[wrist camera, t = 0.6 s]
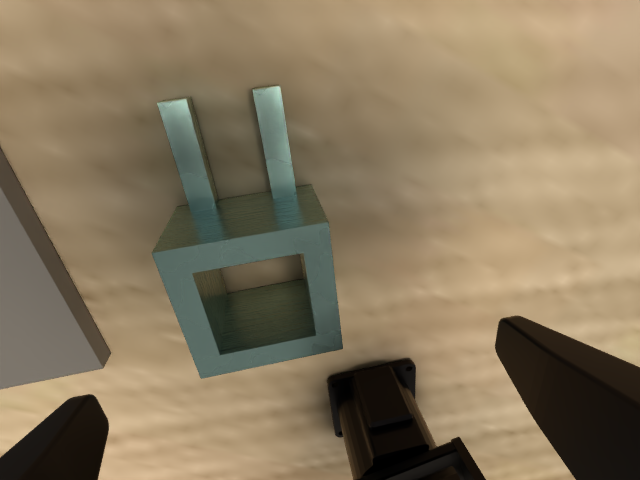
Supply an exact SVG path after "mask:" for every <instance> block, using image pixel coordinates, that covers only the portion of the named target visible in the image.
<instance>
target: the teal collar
mask: <svg viewBox="0 0 640 480" xmlns="http://www.w3.org/2000/svg"><path fill="white" fill-rule="evenodd" d="M252 91H253V96H254V101H255V106H256V112H257V117H258V122H259V128H260V133H261V138H262V143H263V149H264V154H265V159H266V164H267V170H268V175H269V180H270V186H271V191H269V192H262V193H256V194H250V195H244V196H238V197H232V198H226V199H220V200H218V197H217V193H216V189H215V185H214V182H213V178H212V174H211V170H210V167H209V163H208V159H207V155H206V152H205V148H204V144H203V141H202V137H201V133H200V129H199V126H198V122H197V118H196V114H195V111H194V107H193V103H192V99H191V97H185V98H178V99H170V100H163V101H161V102H158V103H157V105H158V108H159V111H160V114H161V117H162V121H163V124H164V127H165V130H166V133H167V137H168V140H169V143H170V146H171V149H172V153H173V156H174V159H175V162H176V165H177V169H178V172H179V175H180V178H181V181H182V185H183V188H184V191H185V194H186V198H187V201H188V204H189V205H183V206H177V208H176V209H175V211H174V213H173V215H172V217H171V219H170V220H169V222H168V224H167V226H166V228H165V230H164V231H163V233H162V235H161V237H160V239H159V241H158V242H157V244H156V246H155V248H154V250H153V252H152V255H153V258H154V260H155V263H156V265H157V268H158V271H159V273H160V276H161V278H162V281H163V283H164V286H165V288H166V291H167V293H168V296H169V299H170V301H171V304H172V306H173V309H174V311H175V314H176V316H177V319H178V322H179V324H180V327H181V329H182V332H183V334H184V337H185V339H186V342H187V344H188V347H189V350H190V352H191V355H192V357H193V360H194V362H195V365H196V367H197V370H198V372H199V375H200V378H201V379H202V378H206V377H211V376H216V375H221V374H225V373H230V372H235V371H240V370H245V369H249V368H254V367H259V366H264V365H268V364H273V363H278V362H283V361H287V360H292V359H297V358H302V357H306V356H311V355H316V354H321V353H325V352H330V351H335V350H340V349H343V344H342V336H341V327H340V318H339V309H338V301H337V292H336V283H335V274H334V266H333V257H332V248H331V239H330V231H329V222H328V220H327V218H326V216H325V213H324V211H323V209H322V207H321V205H320V202H319V200H318V198H317V196H316V194H315V192H314V189H313V187H312V185H305V186H299V187H296V186H295V179H294V173H293V167H292V160H291V154H290V147H289V141H288V134H287V128H286V121H285V115H284V108H283V102H282V95H281V89H280V86H279V85H273V86H265V87H258V88H253V89H252ZM295 254H300V259H301V265H302V271H303V277H304V279H301V280H295V281H290V282H285V283H280V284H274V285H269V286H264V287H259V288H253V289H248V290H243V291H237V292H232V293H227V290H226V287H225V283H224V280H223V277H222V273H221V270H220V268H223V267H229V266H234V265H240V264H245V263H251V262H256V261H262V260H267V259H273V258H278V257H284V256H289V255H295Z"/></svg>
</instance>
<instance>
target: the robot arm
mask: <svg viewBox="0 0 640 480" xmlns="http://www.w3.org/2000/svg"><path fill="white" fill-rule="evenodd" d="M495 349H496V353H497V355H498V357H499V359H500V361H501V363H502V364H503V366H504V368H505V370H506V371H507V373H508V375H509V377H510V378H511V380H512V382H513V384H514V386H515V387H516V389H517V391H518V393H519V394H520V396H521V398H522V400H523V401H524V403H525V405H526V407H527V408H528V410H529V412H530V413H531V415H532V417H533V418H534V420H535V421H536V423H537V424H538V426H539V427H540V429H541V430H542V432H543V433H544V434H545V436H546V437H547V439H548V440H549V442H550V443H551V445H552V446H553V447H554V449H555V450H556V452H557V453H558V455H559V456H560V457H561V459H562V460H563V462H564V463H565V465H566V466H567V467H568V469H569V470H570V472H571V473H572V475H573V476H574V478H575V479H576V480H640V367H638V366H635V365H633V364H631V363H628V362H626V361H624V360H622V359H619V358H617V357H615V356H612V355H610V354H608V353H605V352H603V351H601V350H598V349H596V348H594V347H591V346H589V345H587V344H584V343H582V342H580V341H577V340H575V339H573V338H570V337H568V336H566V335H563V334H561V333H559V332H556V331H554V330H552V329H549V328H547V327H545V326H542V325H540V324H538V323H535V322H533V321H531V320H528V319H526V318H524V317H521V316H511V317H506V318H502V319H501V320H500V321H499V324H498V330H497V336H496V343H495ZM415 373H416V367H415V364H414V362H413V361H412V360H403V361H399V362H394V363H390V364H385V365H380V366H376V367H371V368H366V369H362V370H357V371H353V372H348V373H343V374H339V375H334V376H331V377H330V378H328V380H327V384H328V391H329V397H330V404H331V411H332V417H333V424H334V430H335V435H336V436H337V437H344V441H345V446H346V450H347V454H348V458H349V463H350V467H351V471H352V475H353V480H486V479H485V478H484V476H483V474H482V473H481V471H480V469H479V468H478V466H477V465H476V463H475V461H474V460H473V458H472V457H471V455H470V453H469V452H468V450H467V448H466V447H465V445H464V444H463V442H462V440H461V439H460V437H456V438H454V439H451V442H449V443H446V444H443V445H441V446H438V447H437V446H436V444H435V442H434V440H433V437H432V435H431V433H430V431H429V429H428V427H427V425H426V423H425V421H424V418H423V416H422V414H421V412H420V410H419V408H418V406H417V404H416V402H415ZM335 382H336V383H335ZM108 431H109V423H108V419H107V417H106V415H105V413H104V411H103V410H102V408H101V406H100V404H99V402H98V400H97V398H96V397H95V396H94V395H92V394H87V395H82V396H77V397H72V398H70V399H68V400H67V401H66V402H64V403H63V404H62V405H61V406H60V407H59V408H57V409H56V410H55V411H54V412H53V413H52V414H50V415H49V416H48V417H47V418H46V419H45V420H44V421H42V422H41V423H40V424H39V425H38V426H37V427H35V428H34V429H33V430H32V431H31V432H30V433H28V434H27V435H26V436H25V437H24V438H23V439H21V440H20V441H19V442H18V443H17V444H16V445H14V446H13V447H12V448H11V449H10V450H9V451H8V452H6V453H5V454H4V455H3V456H2V457H1V458H0V480H98V476H99V472H100V467H101V463H102V458H103V454H104V449H105V445H106V441H107V436H108Z"/></svg>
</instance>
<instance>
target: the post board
mask: <svg viewBox="0 0 640 480" xmlns="http://www.w3.org/2000/svg"><path fill="white" fill-rule="evenodd" d="M110 354H111V353H110V351H109V349H108V347H107V345H106V343H105V342H104V340H103V338H102V336H101V334H100V332H99V330H98V329H97V327H96V325H95V323H94V321H93V319H92V317H91V316H90V314H89V312H88V310H87V308H86V306H85V304H84V303H83V301H82V299H81V297H80V295H79V293H78V291H77V290H76V288H75V286H74V284H73V282H72V280H71V278H70V277H69V275H68V273H67V271H66V269H65V267H64V265H63V264H62V262H61V260H60V258H59V256H58V254H57V252H56V251H55V249H54V247H53V245H52V243H51V241H50V239H49V238H48V236H47V234H46V232H45V230H44V228H43V226H42V225H41V223H40V221H39V219H38V217H37V215H36V213H35V212H34V210H33V208H32V206H31V204H30V202H29V200H28V199H27V197H26V195H25V193H24V191H23V189H22V187H21V186H20V184H19V182H18V180H17V178H16V176H15V174H14V173H13V171H12V169H11V167H10V165H9V163H8V161H7V160H6V158H5V156H4V154H3V152H2V150H1V148H0V389H4V388H9V387H14V386H19V385H24V384H29V383H34V382H39V381H44V380H49V379H54V378H59V377H64V376H68V375H73V374H78V373H83V372H88V371H93V370H98V369H103V368H104V366H105V364H106V362H107V360H108V358H109V356H110Z"/></svg>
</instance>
